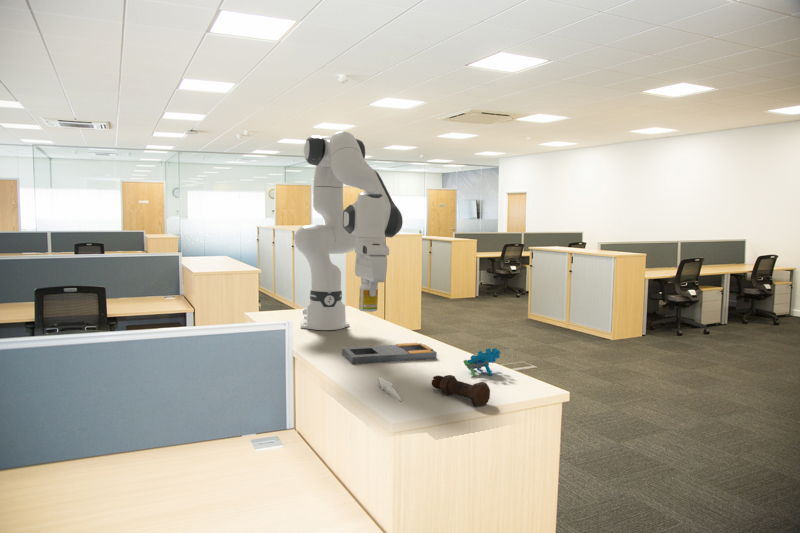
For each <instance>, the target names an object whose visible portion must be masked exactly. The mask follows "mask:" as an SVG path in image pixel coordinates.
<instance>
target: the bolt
mask: <svg viewBox="0 0 800 533" xmlns="http://www.w3.org/2000/svg"><path fill="white" fill-rule="evenodd" d="M431 386H432V387H433V388H435V389H437V390H440V392H441V394H443V395H444V396H451V395H456V396H460V397H462V398H464V399H465V398H466V399H469V400H470V402H471V404H472V406H473V407H476V408H480V407H485V406H486V405H487V404H488V402H489V401H490V398H491V390H490V387H489V384H487V382H485V381H480V382H476V383H473V384H470V383H466V382H464V381H461V380H460V381H459V380H457V378H456V376H455V375H452V374H448V375H444V376H442V375H435V376H433V377H432V380H431Z"/></svg>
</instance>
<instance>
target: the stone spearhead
mask: <svg viewBox="0 0 800 533" xmlns="http://www.w3.org/2000/svg"><path fill="white" fill-rule="evenodd" d="M377 380H378V385H379V386H380V389H381V390H382V391H384V392H386V393H387V394H388V393H389V394H388V395H390V396H391V397H392V398H394V397H395V399H396V400H398V401H399V402H400V401H401V402H402V399H401V398H400V395H399V394H398V392H396V390H395V388H394V387H393V384H392V382H390V381H387V380H385V379H384V378H382V377H381V376H380V377H378V378H377Z"/></svg>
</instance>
